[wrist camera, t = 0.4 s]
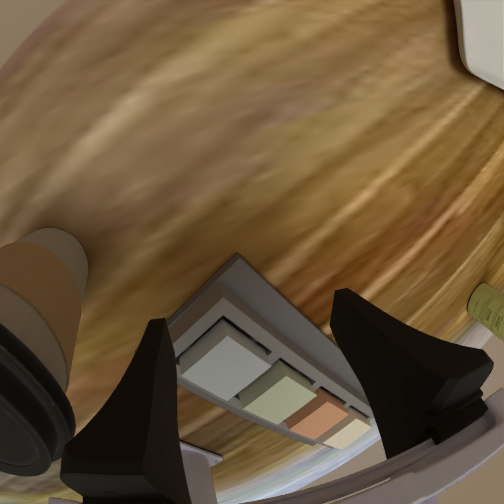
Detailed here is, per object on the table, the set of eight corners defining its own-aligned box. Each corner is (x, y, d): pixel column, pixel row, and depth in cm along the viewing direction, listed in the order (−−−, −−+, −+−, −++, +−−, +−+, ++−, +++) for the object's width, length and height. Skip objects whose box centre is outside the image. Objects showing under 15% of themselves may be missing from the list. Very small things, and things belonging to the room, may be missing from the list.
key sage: (271, 409, 26) (277, 424, 25) (237, 391, 24) (242, 408, 23) (308, 380, 26) (317, 395, 24) (278, 359, 24) (286, 375, 22)
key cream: (334, 438, 32) (341, 449, 30) (315, 430, 30) (322, 443, 28) (364, 415, 31) (372, 427, 30) (348, 405, 29) (356, 418, 28)
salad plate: (529, 116, 26) (547, 119, 23) (444, 71, 21) (470, 70, 18) (512, -7, 18) (528, -9, 15) (416, -78, 13) (434, -87, 10)
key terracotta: (307, 426, 29) (314, 439, 27) (282, 414, 27) (288, 429, 25) (340, 401, 29) (349, 414, 27) (318, 386, 27) (327, 401, 25)
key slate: (222, 383, 24) (227, 400, 22) (179, 357, 22) (180, 375, 20) (264, 349, 23) (271, 366, 21) (222, 318, 21) (227, 335, 19)
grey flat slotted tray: (310, 440, 35) (318, 458, 33) (135, 351, 24) (133, 377, 21) (381, 385, 34) (394, 401, 31) (236, 252, 23) (246, 271, 20)
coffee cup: (-12, 229, 17) (-134, 341, 3) (83, 181, 18) (-54, 285, 5) (40, 330, 21) (-16, 479, 7) (133, 299, 22) (116, 483, 9)
